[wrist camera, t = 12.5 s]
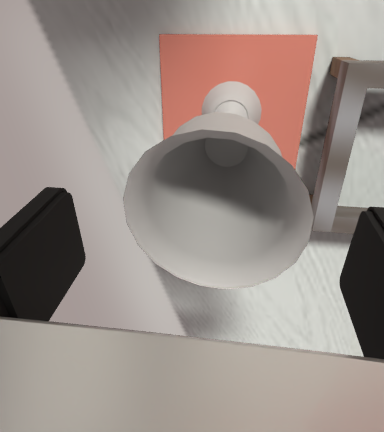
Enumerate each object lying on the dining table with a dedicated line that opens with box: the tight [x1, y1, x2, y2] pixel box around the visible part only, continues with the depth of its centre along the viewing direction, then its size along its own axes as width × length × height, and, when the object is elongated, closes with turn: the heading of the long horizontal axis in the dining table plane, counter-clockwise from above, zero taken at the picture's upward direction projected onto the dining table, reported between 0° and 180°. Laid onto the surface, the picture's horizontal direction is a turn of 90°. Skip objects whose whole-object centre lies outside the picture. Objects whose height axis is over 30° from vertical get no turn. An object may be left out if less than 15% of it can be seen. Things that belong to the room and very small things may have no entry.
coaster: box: [159, 34, 318, 169], centre depth 28 cm, size 12×12×1 cm
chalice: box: [123, 81, 314, 289], centre depth 20 cm, size 7×7×18 cm
